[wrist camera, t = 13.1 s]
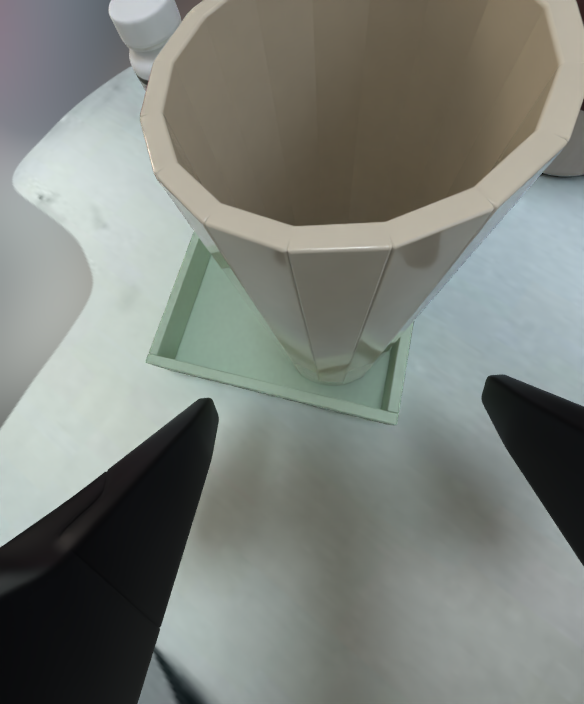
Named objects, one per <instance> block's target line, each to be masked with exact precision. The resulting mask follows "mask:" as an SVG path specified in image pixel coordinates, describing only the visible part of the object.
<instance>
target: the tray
mask: <svg viewBox="0 0 584 704" xmlns="http://www.w3.org/2000/svg"><path fill="white" fill-rule="evenodd" d="M413 323H414V321H413ZM413 323H412V324H411V325H410V326H409V327H408V328H407V329H406V331H405V332H404V333H403V334H402V335H401V336H400V338H399V339H398V340H397V341H396V342H395V343H394V344H393V346H392V347H391V348H390V349H389V350H388V351H387V353H386V354H385V355H384V356H383V357H382V358H381V359H380V361H379V362H378V363H377V364H376V365H375V366H374V367H373V368H372V369H371V370H370V371H369V372H368V373H367V374H365V375H364V376H363V377H362V378H360V379H358V380H356V381H354V382H352V383H349V384H345V385H340V386H326V385H321V384H317V383H314V382H312V381H310V380H308V379H306V378H305V377H303V376H301V375H300V374H299V373H298V372H297V371H296V370H295V369H294V367H293V366H292V365H291V364H290V363H289V362H288V361H287V359H286V358H285V356H284V355H283V354H282V352H281V351H280V349H279V348H278V347H277V345H276V344H275V343H274V341H273V340H272V338H271V337H270V336H269V334H268V333H267V331H266V330H265V329H264V327H263V326H262V324H261V323H260V322H259V320H258V319H257V318H256V316H255V315H254V313H253V312H252V311H251V309H250V308H249V306H248V305H247V304H246V302H245V301H244V299H243V298H242V297H241V295H240V294H239V293H238V291H237V290H236V288H235V287H234V286H233V284H232V283H231V281H230V280H229V279H228V277H227V276H226V274H225V273H224V272H223V270H222V269H221V268H220V266H219V265H218V263H217V262H216V261H215V259H214V258H213V256H212V255H211V254H210V252H209V251H208V249H207V248H206V247H205V245H204V244H203V243H202V241H201V240H200V238H199V237H198V236H197V234H196V233H195V231H194V232H193V235H192V238H191V241H190V243H189V246H188V249H187V251H186V254H185V257H184V259H183V262H182V265H181V268H180V270H179V273H178V276H177V278H176V281H175V284H174V286H173V289H172V292H171V294H170V297H169V300H168V303H167V305H166V308H165V311H164V313H163V316H162V319H161V321H160V324H159V327H158V330H157V332H156V335H155V338H154V340H153V343H152V346H151V348H150V351H149V353H150V354H148V356H147V359H146V363H148V364H152V365H155V366H158V367H162V368H165V369H168V370H172V371H176V372H180V373H184V374H188V375H192V376H196V377H200V378H204V379H208V380H212V381H216V382H220V383H224V384H228V385H232V386H236V387H240V388H244V389H248V390H252V391H256V392H260V393H264V394H268V395H272V396H276V397H280V398H284V399H288V400H292V401H296V402H300V403H304V404H308V405H312V406H316V407H320V408H324V409H328V410H332V411H336V412H340V413H344V414H348V415H352V416H356V417H360V418H364V419H368V420H372V421H376V422H380V423H384V424H391V425H397V422H398V413H399V409H400V403H401V396H402V390H403V384H404V378H405V372H406V366H407V360H408V353H409V347H410V341H411V335H412V329H413Z"/></svg>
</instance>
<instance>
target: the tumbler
mask: <svg viewBox="0 0 584 704" xmlns="http://www.w3.org/2000/svg"><path fill="white" fill-rule="evenodd" d="M583 99H584V24H583V21H582V17H581V14H580V11H579V7H578V4H577V1H576V0H203V1H202V2H201V3H199V4H198V5H197V6H195V7H194V8H193V9H192V10H191V12H189V13H188V14H187V15H186V17H185V18H184V20H183V21H182V22H181V23H180V25H179V26H178V28H177V29H176V30H175V32H174V33H173V35H172V36H171V37H170V39H169V40H168V42H167V43H166V44H165V46H164V47H163V48H162V50H161V51H160V53H159V54H158V55H157V57H156V58H155V60H154V62H153V64H152V68H151V72H150V76H149V81H148V85H147V89H146V93H145V97H144V101H143V105H142V109H141V113H140V122H141V126H142V129H143V133H144V137H145V141H146V145H147V149H148V152H149V156H150V160H151V164H152V168H153V172H154V175H155V176H156V178H157V180H158V181H159V183H160V184H161V186H162V187H163V188H164V190H165V191H166V192H167V194H168V195H169V197H170V198H171V199H172V201H173V202H174V204H175V205H176V206H177V208H178V209H179V211H180V212H181V213H182V215H183V216H184V217H185V219H186V220H187V222H188V223H189V224H190V226H191V227H192V229H193V230H194V231H195V233H196V234H197V236H198V237H199V238H200V240H201V241H202V243H203V244H204V245H205V247H206V248H207V249H208V251H209V252H210V254H211V255H212V256H213V258H214V259H215V261H216V262H217V263H218V265H219V266H220V268H221V269H222V270H223V272H224V273H225V274H226V276H227V277H228V279H229V280H230V281H231V283H232V284H233V286H234V287H235V288H236V290H237V291H238V293H239V294H240V295H241V297H242V298H243V299H244V301H245V302H246V304H247V305H248V306H249V308H250V309H251V311H252V312H253V313H254V315H255V316H256V318H257V319H258V320H259V322H260V323H261V324H262V326H263V327H264V329H265V330H266V331H267V333H268V334H269V336H270V337H271V338H272V340H273V341H274V343H275V344H276V345H277V347H278V348H279V349H280V351H281V352H282V354H283V355H284V356H285V358H286V359H287V361H288V362H289V363H290V364H291V365H292V366H293V367H294V369H295V370H296V371H297V372H298V373H299V374H300V375H301V376H303V377H305V378H306V379H308V380H310V381H312V382H314V383H317V384H321V385H326V386H340V385H345V384H349V383H352V382H354V381H356V380H358V379H360V378H362V377H363V376H364V375H365V374H367V373H368V372H369V371H370V370H371V369H372V368H373V367H374V366H375V365H376V364H377V363H378V362H379V361H380V359H381V358H382V357H383V356H384V355H385V354H386V353H387V351H388V350H389V349H390V348H391V347H392V346H393V344H394V343H395V342H396V341H397V340H398V339H399V338H400V336H401V335H402V334H403V333H404V332H405V331H406V329H407V328H408V327H409V326H410V325H411V324H412V323H413V321H414V320H415V319H416V318H417V317H418V316H419V315H420V313H421V312H422V311H423V310H424V309H425V308H426V306H427V305H428V304H429V303H430V302H431V301H432V300H433V298H434V297H435V296H436V295H437V294H438V293H439V291H440V290H441V289H442V288H443V287H444V286H445V285H446V283H447V282H448V281H449V280H450V279H451V278H452V276H453V275H454V274H455V273H456V272H457V271H458V270H459V268H460V267H461V266H462V265H463V264H464V263H465V262H466V260H467V259H468V258H469V257H470V256H471V255H472V253H473V252H474V251H475V250H476V249H477V248H478V247H479V245H480V244H481V243H482V242H483V241H484V240H485V238H486V237H487V236H488V235H489V234H490V233H491V232H492V230H493V229H494V228H495V227H496V226H497V225H498V223H499V222H500V221H501V220H502V219H503V218H504V217H505V215H506V214H507V213H508V212H509V211H510V210H511V208H512V207H513V206H514V205H515V204H516V203H517V202H518V200H519V199H520V198H521V197H522V196H523V195H524V194H525V192H526V191H527V190H528V189H529V188H530V187H531V185H532V184H533V183H534V182H535V181H536V180H537V179H538V177H539V176H540V175H541V174H542V173H543V172H544V170H545V169H546V168H547V167H548V166H549V165H550V164H551V162H552V161H553V160H554V159H555V158H556V157H557V155H558V154H559V153H560V152H561V151H562V150H563V149H564V147H565V146H566V144H567V143H568V141H569V140H570V137H571V134H572V132H573V129H574V126H575V123H576V120H577V117H578V114H579V111H580V108H581V105H582V102H583Z"/></svg>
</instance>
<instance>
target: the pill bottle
mask: <svg viewBox="0 0 584 704" xmlns="http://www.w3.org/2000/svg"><path fill="white" fill-rule="evenodd" d="M109 15H110V17H111V19H112V21H113V23H114V25H115V27H116V29H117V31H118V33H119V35H120V37H121V39H122V41H123V42H124V43H125V44H126V46H127V47H128V48H130V52H129V53H130V54H129V55H130V56H129V57H130V62H131V65H132V67H133V69H134V71H135V73H136V75H137V77H138V78H139V80H140V82H141V84H142V85H143V87H144V89H145V91H146V89H147V85H148V81H149V76H150V72H151V68H152V64H153V62H154V60H155V58H156V57H157V55H158V54H159V53H160V51H161V50H162V48H163V47H164V46H165V44H166V43H167V42H168V40H169V39H170V37H171V36H172V35H173V33H174V32H175V30H176V29H177V28H178V26H179V25H180V23H181V17H180V14H179V11H178V9H177V6H176V3H175V1H174V0H111V2H110V5H109Z"/></svg>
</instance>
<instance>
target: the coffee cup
mask: <svg viewBox="0 0 584 704" xmlns="http://www.w3.org/2000/svg"><path fill="white" fill-rule="evenodd" d="M576 1H577V4H578V7H579V11H580V14H581V17H582V21H583V24H584V0H576ZM543 173H545V174H549V175H554V176H579V175H584V99H583V102H582V105H581V108H580V111H579V114H578V117H577V120H576V123H575V126H574V129H573V132H572V134H571V137H570V140H569V141H568V143H567V144H566V146H565V147H564V149H563V150H562V151H561V152H560V153H559V154H558V155H557V157H556V158H555V159H554V160H553V161H552V162H551V164H550V165H549V166H548V167H547V168H546V169H545V170H544V172H543Z"/></svg>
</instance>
